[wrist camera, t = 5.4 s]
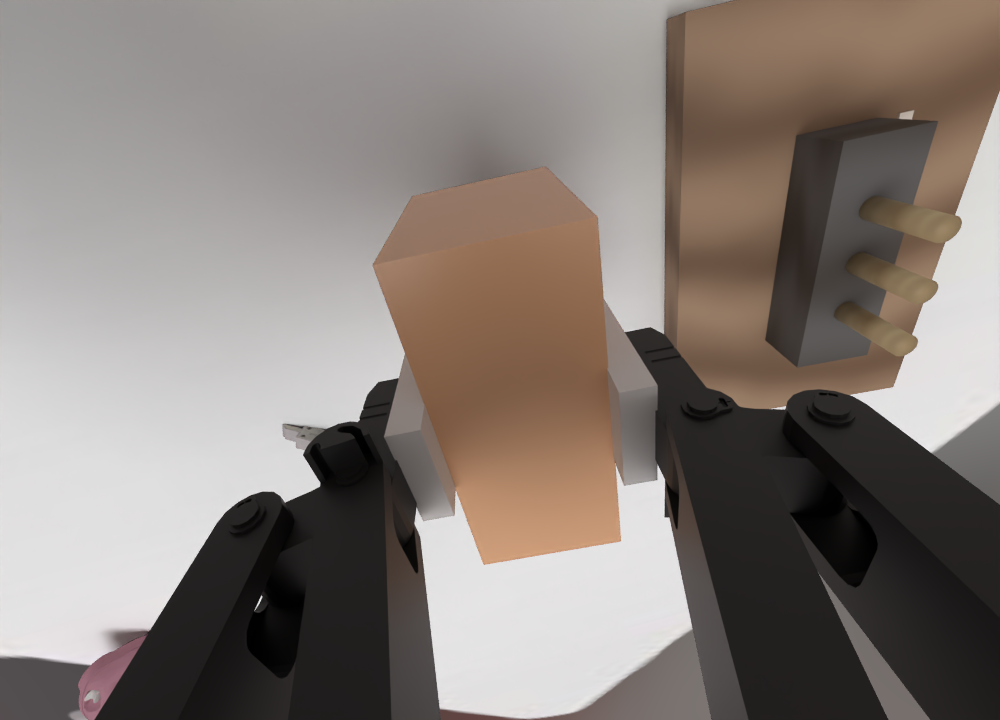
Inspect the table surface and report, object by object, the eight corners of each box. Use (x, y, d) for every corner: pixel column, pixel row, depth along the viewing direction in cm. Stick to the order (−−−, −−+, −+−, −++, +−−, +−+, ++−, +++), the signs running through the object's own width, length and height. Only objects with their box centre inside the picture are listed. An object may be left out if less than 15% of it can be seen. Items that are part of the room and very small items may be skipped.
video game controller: (142, 611, 44) (55, 682, 38) (173, 635, 42) (89, 711, 37) (162, 658, 49) (89, 727, 43) (190, 681, 47) (119, 754, 42)
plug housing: (412, 195, 13) (372, 265, 8) (545, 166, 12) (598, 217, 7) (479, 427, 17) (483, 564, 12) (576, 409, 17) (621, 541, 12)
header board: (666, 19, 19) (784, -28, 12) (1004, -62, 18) (1362, -168, 11) (664, 406, 30) (722, 504, 23) (869, 370, 29) (996, 459, 22)
